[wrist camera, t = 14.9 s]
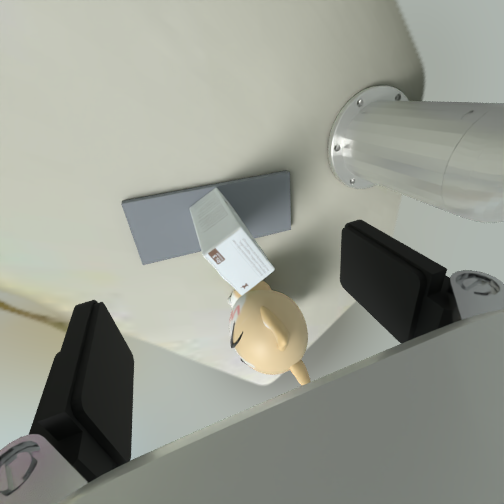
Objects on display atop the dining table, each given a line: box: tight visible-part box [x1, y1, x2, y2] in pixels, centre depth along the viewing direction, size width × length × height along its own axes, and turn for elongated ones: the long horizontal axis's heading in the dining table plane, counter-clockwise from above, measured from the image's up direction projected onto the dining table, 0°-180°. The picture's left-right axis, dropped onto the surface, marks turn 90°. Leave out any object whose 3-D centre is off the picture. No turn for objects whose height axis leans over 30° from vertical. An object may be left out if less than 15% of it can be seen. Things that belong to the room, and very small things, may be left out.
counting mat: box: [122, 171, 291, 265], centre depth 35 cm, size 20×8×1 cm, turn 95°
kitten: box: [228, 281, 310, 385], centre depth 37 cm, size 15×10×15 cm, turn 22°
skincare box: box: [189, 188, 275, 295], centre depth 29 cm, size 6×4×12 cm
